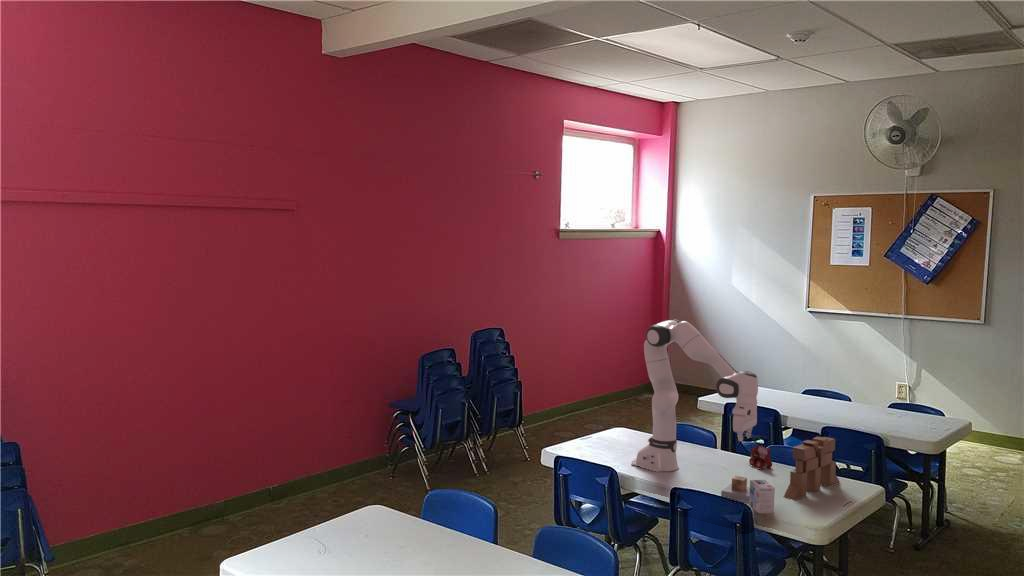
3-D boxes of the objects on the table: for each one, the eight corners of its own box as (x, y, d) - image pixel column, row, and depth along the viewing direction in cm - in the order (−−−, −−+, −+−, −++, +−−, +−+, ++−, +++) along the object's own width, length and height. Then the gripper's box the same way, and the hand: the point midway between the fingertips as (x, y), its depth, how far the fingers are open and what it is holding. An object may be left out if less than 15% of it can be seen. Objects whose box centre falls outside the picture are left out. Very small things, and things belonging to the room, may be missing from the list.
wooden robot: (825, 478, 367) (827, 430, 366) (842, 483, 361) (845, 434, 359) (780, 497, 340) (782, 445, 339) (799, 502, 334) (801, 449, 333)
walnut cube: (731, 489, 341) (731, 478, 340) (735, 486, 345) (735, 475, 345) (743, 492, 338) (743, 480, 338) (746, 489, 342) (746, 477, 342)
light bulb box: (748, 504, 330) (749, 479, 329) (764, 504, 330) (764, 479, 329) (758, 513, 319) (759, 487, 318) (774, 513, 320) (775, 487, 319)
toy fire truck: (757, 462, 392) (758, 442, 391) (774, 469, 380) (775, 448, 380) (746, 463, 389) (746, 443, 389) (762, 471, 378) (763, 449, 377)
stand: (721, 496, 340) (721, 490, 339) (731, 489, 349) (731, 483, 349) (748, 502, 333) (748, 496, 333) (757, 494, 342) (758, 489, 342)
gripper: (747, 403, 358) (745, 433, 359) (731, 410, 341) (729, 441, 343) (761, 405, 354) (759, 435, 355) (745, 413, 338) (743, 444, 339)
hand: (744, 438), depth 349 cm, fingers open, 8 cm apart
